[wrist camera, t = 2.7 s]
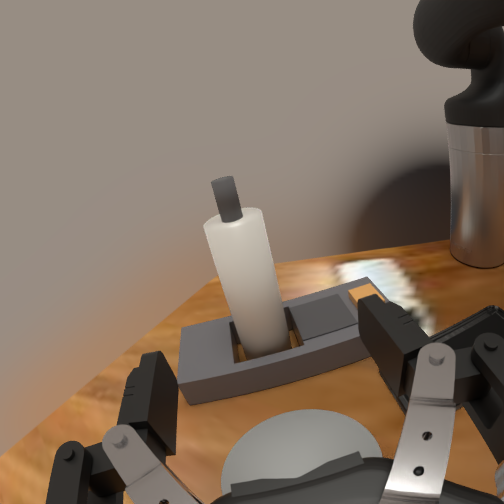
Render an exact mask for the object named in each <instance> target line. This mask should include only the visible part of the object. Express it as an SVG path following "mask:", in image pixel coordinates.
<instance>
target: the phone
mask: <svg viewBox="0 0 504 504" xmlns="http://www.w3.org/2000/svg"><path fill="white" fill-rule="evenodd" d="M483 333H495V334H497V335H499V336H501V337H502V338H503V339H504V311H503V310H502V309H501V308H499V307H498V306H494V305H491V306H487V307H486V308H484V309H482V310H480V311H479V312H477V313H475V314H473V315H471V316H470V317H468V318H466V319H464V320H462V321H460V322H458V323H456V324H454V325H453V326H451V327H449V328H447V329H445V330H443V331H441V332H439V333H437V334H435V335H432V336H430V337H429V338H430V339H431V340H432V341H433V342H434V343H443V344H446V345H448V346H450V347H451V348H452V349H453V350H458V349H463V348H468V347H473V345H474V341H475V339H476V338H477V337H478V336H479V335H481V334H483ZM379 372H380V375H381V377H382V378H383V377H384V375H383V374H382V372H381V370H380V369H379ZM383 380H384V381H385V383H386V385H387V386H388V388H389V389H390V391H391V393H392V394H393V396H394V397H395V399H396V401H397V402H398V404H399V406H400V407H401V409H402V411H403V412H404V414H405V416H406V412H407V408H408V403H409V399H410V398H409V397H408V395H407V394H404V395H402V396H400V397H398V398H397V396H396V394H395V393H394V391H393V390H392V388H391V386H390V385H389V383H388V382H387V380H386V378H385V377H384V378H383ZM462 406H463V405H462V403H459V404H456V409H455V411H456V410H457V409H459V408H461V407H462Z"/></svg>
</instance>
